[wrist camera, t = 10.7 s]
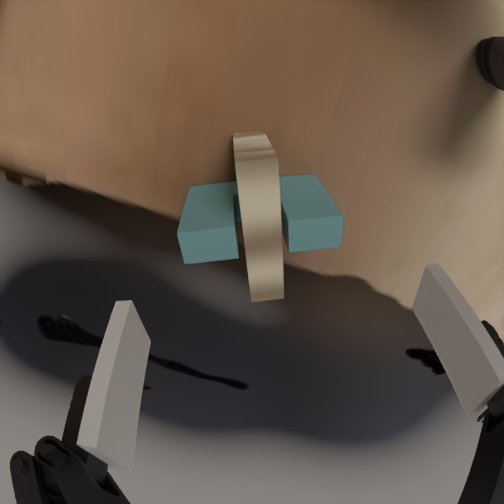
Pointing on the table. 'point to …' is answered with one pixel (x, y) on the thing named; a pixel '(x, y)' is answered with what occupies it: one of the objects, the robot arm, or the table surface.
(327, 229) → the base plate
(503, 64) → the camera lens
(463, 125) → the table surface
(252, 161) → the upper plate
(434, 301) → the robot arm
